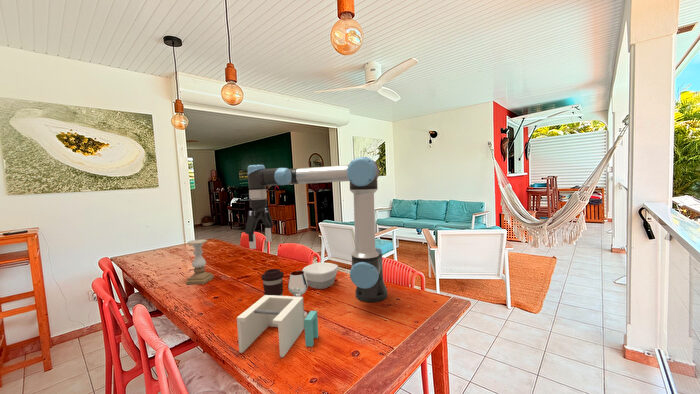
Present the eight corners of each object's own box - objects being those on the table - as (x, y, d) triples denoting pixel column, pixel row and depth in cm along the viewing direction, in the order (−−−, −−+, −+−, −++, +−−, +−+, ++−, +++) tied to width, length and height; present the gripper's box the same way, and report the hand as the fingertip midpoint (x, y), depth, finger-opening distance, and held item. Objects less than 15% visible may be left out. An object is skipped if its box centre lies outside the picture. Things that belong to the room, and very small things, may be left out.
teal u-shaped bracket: (318, 336, 100) (317, 311, 99) (312, 346, 94) (310, 320, 93) (312, 335, 100) (310, 310, 100) (305, 346, 94) (304, 319, 94)
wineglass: (300, 321, 111) (297, 277, 109) (285, 317, 115) (282, 274, 114) (313, 313, 117) (311, 271, 116) (299, 309, 122) (296, 268, 121)
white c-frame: (304, 327, 106) (303, 297, 105) (283, 357, 89) (281, 320, 88) (267, 324, 110) (265, 294, 109) (239, 352, 92) (236, 317, 91)
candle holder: (204, 284, 158) (201, 242, 156) (185, 285, 158) (182, 243, 157) (214, 277, 169) (211, 238, 167) (196, 278, 169) (193, 239, 168)
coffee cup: (279, 307, 124) (277, 274, 123) (259, 306, 126) (257, 274, 125) (288, 298, 134) (286, 267, 133) (269, 297, 136) (267, 267, 135)
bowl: (344, 281, 152) (343, 264, 152) (324, 293, 137) (323, 275, 137) (318, 276, 162) (317, 260, 161) (297, 287, 147) (296, 270, 146)
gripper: (265, 197, 140) (267, 238, 141) (233, 201, 115) (237, 251, 117) (278, 196, 138) (281, 238, 139) (249, 201, 114) (253, 252, 115)
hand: (261, 244), depth 128 cm, fingers open, 13 cm apart
